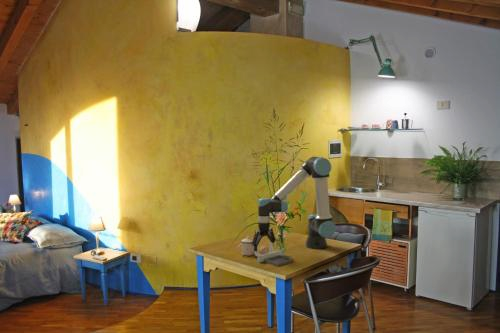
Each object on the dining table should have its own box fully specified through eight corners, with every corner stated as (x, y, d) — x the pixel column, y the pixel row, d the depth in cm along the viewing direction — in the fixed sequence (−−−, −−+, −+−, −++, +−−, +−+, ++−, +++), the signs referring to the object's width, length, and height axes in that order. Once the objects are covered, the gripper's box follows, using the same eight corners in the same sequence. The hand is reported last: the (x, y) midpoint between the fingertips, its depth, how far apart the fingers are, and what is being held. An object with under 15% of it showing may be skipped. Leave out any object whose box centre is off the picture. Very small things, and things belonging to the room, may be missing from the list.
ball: (264, 253, 274) (264, 244, 273) (270, 255, 269) (270, 246, 268) (257, 255, 269) (257, 246, 269) (263, 257, 265) (263, 248, 264)
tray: (279, 257, 265) (279, 254, 265) (293, 261, 256) (293, 259, 256) (264, 261, 256) (264, 259, 256) (277, 266, 247) (277, 263, 247)
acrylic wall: (282, 255, 271) (282, 248, 270) (284, 255, 269) (284, 248, 269) (257, 262, 256) (257, 254, 255) (259, 262, 254) (259, 255, 254)
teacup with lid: (251, 251, 280) (250, 234, 279) (257, 254, 272) (257, 237, 271) (235, 253, 275) (235, 236, 274) (241, 257, 267) (241, 239, 266)
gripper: (273, 218, 278) (273, 249, 280) (246, 223, 262) (246, 256, 264) (281, 220, 273) (281, 251, 274) (253, 225, 257) (253, 258, 258)
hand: (264, 253), depth 269 cm, fingers open, 12 cm apart
